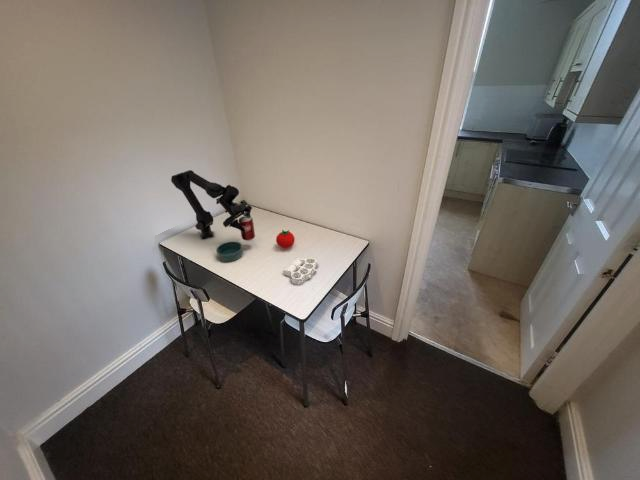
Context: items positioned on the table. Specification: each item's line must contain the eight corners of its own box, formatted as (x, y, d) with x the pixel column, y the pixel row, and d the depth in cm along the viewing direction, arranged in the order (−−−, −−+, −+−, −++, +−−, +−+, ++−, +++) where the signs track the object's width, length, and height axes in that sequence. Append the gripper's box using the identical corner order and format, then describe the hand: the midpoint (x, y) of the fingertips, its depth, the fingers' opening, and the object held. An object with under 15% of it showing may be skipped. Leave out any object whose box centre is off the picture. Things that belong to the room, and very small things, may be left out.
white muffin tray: (299, 258, 137) (323, 266, 131) (279, 277, 123) (304, 288, 117) (299, 253, 135) (323, 261, 129) (278, 272, 122) (304, 282, 116)
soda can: (251, 242, 138) (247, 222, 132) (239, 239, 140) (235, 220, 133) (257, 235, 144) (254, 216, 138) (246, 233, 146) (242, 214, 139)
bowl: (213, 254, 140) (211, 248, 137) (235, 245, 147) (234, 238, 145) (225, 265, 132) (223, 258, 129) (247, 255, 139) (246, 248, 137)
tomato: (273, 246, 146) (271, 231, 141) (286, 239, 152) (285, 225, 147) (285, 254, 140) (283, 238, 135) (298, 246, 146) (298, 231, 141)
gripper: (222, 204, 123) (244, 229, 126) (247, 191, 138) (266, 213, 140) (213, 215, 130) (234, 238, 133) (237, 201, 145) (256, 222, 147)
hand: (248, 227), depth 138 cm, fingers closed on soda can, 7 cm apart
